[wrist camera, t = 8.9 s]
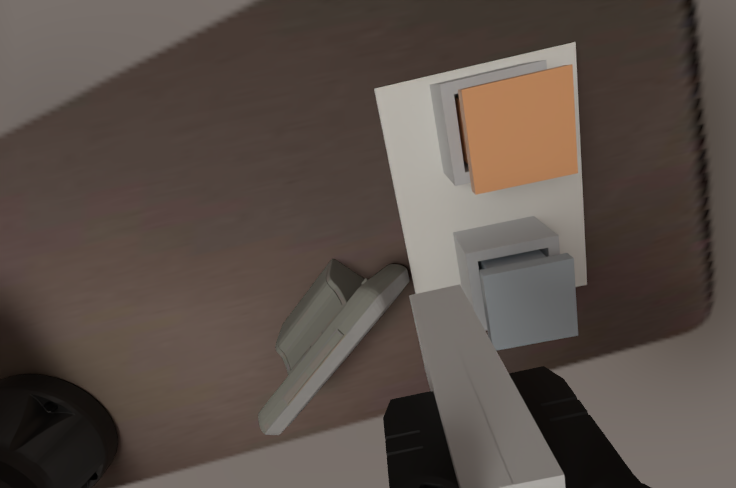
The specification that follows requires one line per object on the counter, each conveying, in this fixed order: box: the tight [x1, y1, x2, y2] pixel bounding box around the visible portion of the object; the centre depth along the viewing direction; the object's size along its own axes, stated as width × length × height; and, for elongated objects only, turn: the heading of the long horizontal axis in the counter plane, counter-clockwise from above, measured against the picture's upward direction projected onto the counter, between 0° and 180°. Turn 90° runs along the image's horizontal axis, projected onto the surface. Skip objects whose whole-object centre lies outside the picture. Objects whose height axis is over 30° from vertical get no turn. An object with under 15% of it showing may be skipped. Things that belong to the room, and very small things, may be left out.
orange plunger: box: [454, 64, 578, 195], centre depth 28 cm, size 6×6×8 cm
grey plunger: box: [478, 249, 578, 350], centre depth 33 cm, size 6×6×8 cm
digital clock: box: [258, 259, 409, 435], centre depth 37 cm, size 16×9×11 cm, turn 132°
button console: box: [374, 42, 587, 331], centre depth 34 cm, size 15×20×8 cm
